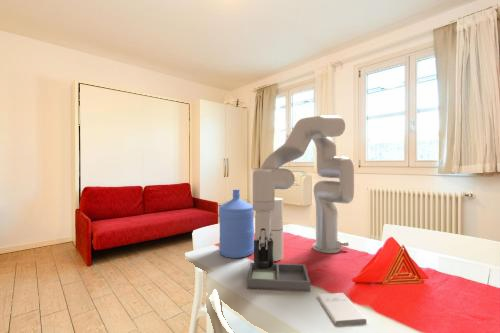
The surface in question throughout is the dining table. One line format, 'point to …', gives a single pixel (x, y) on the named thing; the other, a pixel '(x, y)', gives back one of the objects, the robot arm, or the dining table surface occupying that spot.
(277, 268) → the sorting tray
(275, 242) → the cylindrical container
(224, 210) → the water jug
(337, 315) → the external hard drive
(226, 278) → the dining table surface
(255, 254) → the supplement bottle
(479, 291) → the dining table surface
